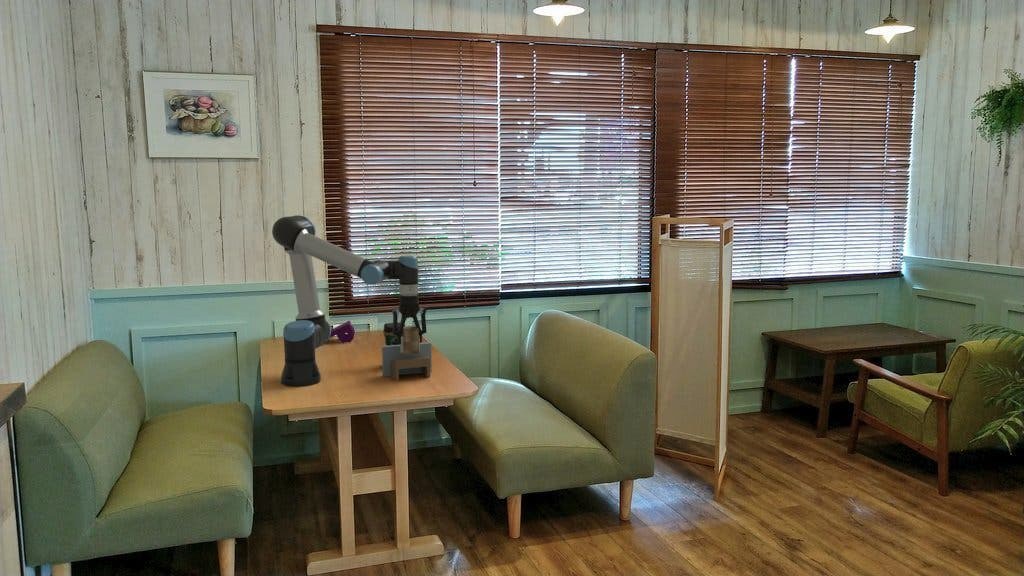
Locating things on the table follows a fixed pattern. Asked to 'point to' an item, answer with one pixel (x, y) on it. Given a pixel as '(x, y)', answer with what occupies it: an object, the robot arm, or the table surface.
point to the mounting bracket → (342, 330)
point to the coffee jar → (390, 334)
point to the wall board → (406, 361)
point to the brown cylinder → (410, 339)
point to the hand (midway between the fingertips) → (409, 351)
